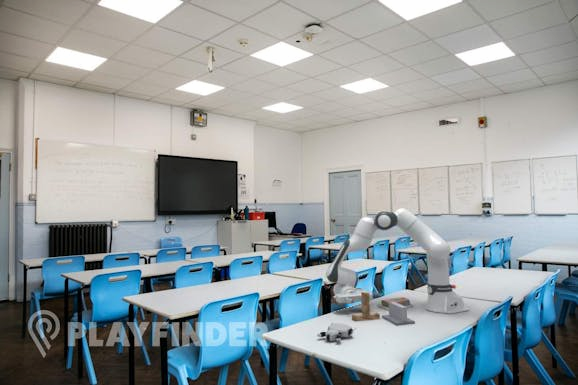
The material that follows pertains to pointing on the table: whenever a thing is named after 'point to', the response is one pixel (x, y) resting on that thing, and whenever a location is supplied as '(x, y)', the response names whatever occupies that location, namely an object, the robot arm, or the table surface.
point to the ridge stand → (397, 314)
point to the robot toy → (337, 332)
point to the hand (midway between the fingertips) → (360, 300)
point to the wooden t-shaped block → (365, 310)
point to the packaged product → (400, 300)
